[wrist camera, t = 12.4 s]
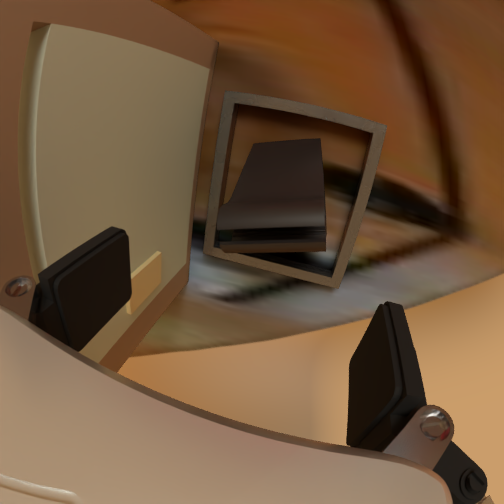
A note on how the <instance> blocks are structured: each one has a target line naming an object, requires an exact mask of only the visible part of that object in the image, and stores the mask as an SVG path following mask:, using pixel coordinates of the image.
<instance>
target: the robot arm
mask: <svg viewBox="0 0 504 504" xmlns="http://www.w3.org/2000/svg"><path fill="white" fill-rule="evenodd" d="M38 278H39V283H38V284H37V285H36V281H35V279H34V278H32V277H31V276H27V275H22V276H17V277H14V278H12V279H10V280H9V281H7V282H6V283H5V284H4V286H3V288H2V290H1V293H0V504H494V503H493V501H492V499H491V497H490V495H489V496H487V497H485V493H486V490H487V478H486V476H485V473H484V472H483V470H482V469H481V468H480V467H479V466H478V465H477V464H476V463H475V462H474V461H473V460H471V459H470V458H469V457H468V456H467V455H466V454H465V453H464V452H463V451H462V450H461V449H460V448H459V447H458V446H457V445H456V444H455V443H454V442H452V441H451V439H452V437H453V434H454V424H453V421H452V419H451V417H450V415H449V414H448V413H447V412H446V411H445V410H444V409H442V408H440V407H438V406H435V405H427V403H426V397H425V392H424V387H423V382H422V377H421V372H420V368H419V364H418V359H417V355H416V351H415V348H414V346H413V342H412V338H411V334H410V331H409V327H408V323H407V320H406V316H405V313H404V309H403V306H402V305H400V304H396V303H392V302H388V301H387V302H385V303H384V305H383V304H380V305H379V306H378V308H377V310H376V312H375V314H374V316H373V318H372V320H371V322H370V324H369V326H368V328H367V330H366V332H365V334H364V336H363V338H362V340H361V341H360V343H359V345H358V347H357V349H356V351H355V352H354V354H353V356H352V358H351V360H350V364H349V400H348V423H347V438H346V443H347V445H348V446H342V445H336V444H330V443H324V442H320V441H314V440H309V439H305V438H300V437H296V436H291V435H287V434H283V433H278V432H274V431H270V430H267V429H263V428H259V427H255V426H252V425H248V424H245V423H241V422H238V421H235V420H232V419H228V418H225V417H222V416H219V415H216V414H213V413H210V412H208V411H205V410H202V409H199V408H196V407H194V406H191V405H188V404H185V403H183V402H180V401H178V400H175V399H173V398H171V397H168V396H166V395H163V394H161V393H158V392H156V391H154V390H152V389H150V388H147V387H145V386H143V385H141V384H138V383H136V382H134V381H132V380H130V379H128V378H125V377H124V376H122V375H120V374H118V373H116V372H114V371H112V370H110V369H108V368H106V367H104V366H102V365H100V364H98V363H97V362H95V361H93V360H91V359H89V358H88V357H86V356H84V355H82V354H80V353H79V352H80V351H81V350H82V349H83V348H84V347H85V346H86V345H87V344H88V343H89V342H90V341H91V340H92V338H93V337H94V336H95V335H96V334H97V333H98V332H99V331H100V330H101V329H102V328H103V327H104V326H105V325H106V324H107V323H108V322H109V321H110V319H111V318H112V317H113V316H114V315H115V314H116V313H117V312H118V311H119V310H120V309H121V308H122V307H123V306H124V305H125V304H126V303H127V302H128V301H129V300H130V298H131V296H132V283H131V269H130V250H129V236H128V235H127V234H126V231H125V230H124V229H120V228H117V227H113V226H111V227H109V228H107V229H106V230H104V231H102V232H101V233H99V234H97V235H96V236H94V237H93V238H91V239H89V240H88V241H86V242H85V243H83V244H81V245H80V246H78V247H77V248H75V249H74V250H72V251H71V252H69V253H68V254H66V255H65V256H63V257H62V258H60V259H59V260H57V261H56V262H54V263H53V264H51V265H50V266H48V267H47V268H46V269H44V270H43V271H41V272H40V273H38ZM349 446H350V447H349Z"/></svg>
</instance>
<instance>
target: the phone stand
mask: <svg viewBox="0 0 504 504" xmlns="http://www.w3.org/2000/svg"><path fill="white" fill-rule="evenodd" d="M226 229H234V231H233V233H232V234H233V237H232V241H229V242H221V243H220V248H221V249H222V251H223V252H224V253H269V252H319V251H326V235H327V232H326V209H325V191H324V176H323V162H322V151H321V140H320V138H319V139H301V140H288V141H276V142H265V143H255V144H253V147H252V149H251V151H250V154H249V156H248V158H247V161H246V163H245V165H244V168H243V170H242V172H241V175H240V177H239V180H238V182H237V185H236V187H235V189H234V192H233V194H232V197H231V199H230V200H229V202H228V203H226V204H223V205H222V206H221V207H220V209H219V212H218V217H217V230H226Z"/></svg>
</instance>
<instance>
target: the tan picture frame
mask: <svg viewBox="0 0 504 504" xmlns="http://www.w3.org/2000/svg"><path fill="white" fill-rule="evenodd" d="M218 45H219V42H217V41H216V40H214V39H213V38H212V37H210V36H209V35H207V34H206V33H204V32H203V31H201V30H199V29H198V28H196V27H195V26H193V25H192V24H190V23H188V22H187V21H185V20H184V19H182V18H180V17H179V16H177V15H175V14H174V13H172V12H170V11H168V10H167V9H165V8H163V7H161V6H159V5H158V4H156V3H154V2H152V1H150V0H0V293H1V290H2V288H3V286H4V284H5V283H6V282H7V281H9V280H10V279H12V278H14V277H17V276H22V275H27V276H31V277H32V278H34V279H35V281H36V285H37V284H38V283H39V278H38V273H40V272H41V271H43V270H44V269H46V268H47V267H48V266H50V265H51V264H53V263H54V262H56V261H57V260H59V259H60V258H62V257H63V256H65V255H66V254H68V253H69V252H71V251H72V250H74V249H75V248H77V247H78V246H80V245H81V244H83V243H85V242H86V241H88V240H89V239H91V238H93V237H94V236H96V235H97V234H99V233H101V232H102V231H104V230H106V229H107V228H109V227H111V226H113V227H117V228H120V229H124V230H125V231H126V234H127V235H128V236H129V250H130V269H131V283H132V296H131V298H130V300H129V301H128V302H127V303H126V304H125V305H124V306H123V307H122V308H121V309H120V310H119V311H118V312H117V313H116V314H115V315H114V316H113V317H112V318H111V319H110V321H109V322H108V323H107V324H106V325H105V326H104V327H103V328H102V329H101V330H100V331H99V332H98V333H97V334H96V335H95V336H94V337H93V338H92V340H91V341H90V342H89V343H88V344H87V345H86V346H85V347H84V348H83V349H82V350H81V351H80V352H79V353H80V354H82V355H84V356H86V357H88V358H89V359H91V360H93V361H95V362H97V363H98V364H100V365H102V366H104V367H106V368H108V369H110V370H112V371H114V372H116V373H117V372H118V371H119V369H120V368H121V367H122V365H123V364H124V363H125V361H126V360H127V359H128V358H129V356H130V355H131V354H132V352H133V351H134V350H135V348H136V347H137V346H138V345H139V343H140V342H141V341H142V339H143V338H144V337H145V335H146V334H147V333H148V332H149V330H150V329H151V328H152V326H153V325H154V324H155V323H156V321H157V320H158V319H159V318H160V316H161V315H162V314H163V312H164V311H165V310H166V309H167V307H168V306H169V305H170V304H171V302H172V301H173V300H174V299H175V297H176V296H177V295H178V294H179V292H180V291H181V290H182V289H183V287H184V286H185V285H186V284H187V282H188V279H189V264H190V250H191V238H192V227H193V216H194V206H195V196H196V187H197V179H198V170H199V162H200V154H201V147H202V139H203V132H204V126H205V119H206V112H207V106H208V100H209V94H210V88H211V82H212V76H213V71H214V65H215V60H216V55H217V50H218Z"/></svg>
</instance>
